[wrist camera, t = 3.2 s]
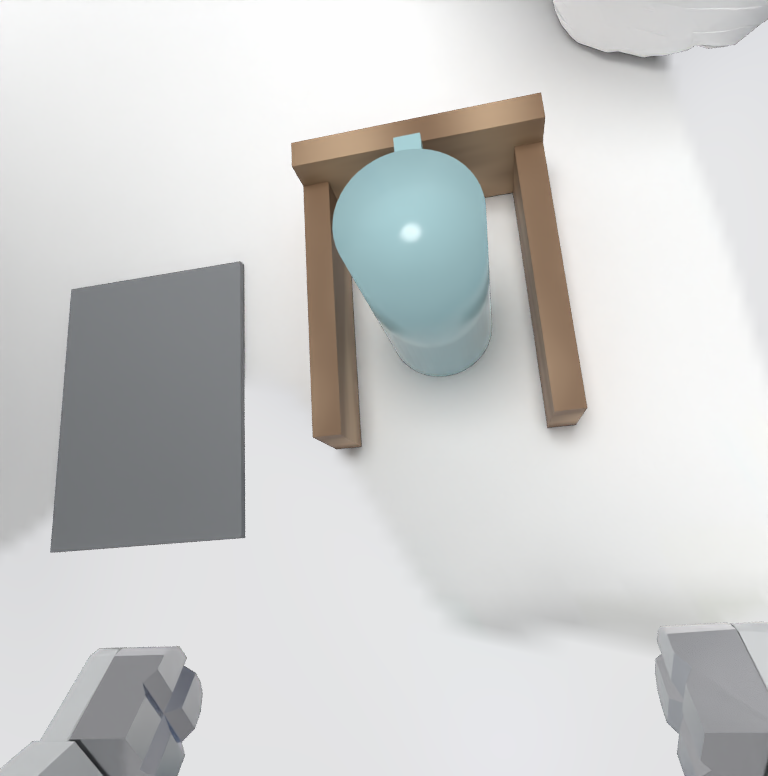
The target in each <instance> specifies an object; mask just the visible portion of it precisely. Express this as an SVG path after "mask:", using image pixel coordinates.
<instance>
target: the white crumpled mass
mask: <svg viewBox="0 0 768 776" xmlns="http://www.w3.org/2000/svg"><path fill="white" fill-rule="evenodd" d="M553 5H554V8H555V11H556V14H557V16H558V18H559V20H560V23H561V25H562V26H563V27H564V28H565V30H566V31H567V32H568V33H569V35H570V36H571V37H572V38H573V39H574V40H575V41H576V42H578V43H580V44H583V45H586V46H589V47H592V48H595V49H598V50H601V51H604V52H616V51H620V52H624V53H627V54H631V55H635V56H639V57H643V58H644V57H649V56H665V55H669V54H674V53H678V52H682V51H686V50H689V49H691V48H692V47H694V46H701V47H704V48H708V49H709V48H717V47H724V46H729V45H735V44H736V43H738V42H739V41H740V40H741V39H743V38H744V37H745V36H746V35H748V34H749V33H750V32H751V31H753V30H754V29H755V28H756V27H758V26H759V25H760V24H761V23H763V22H765V21H766V20H767V19H768V0H553Z"/></svg>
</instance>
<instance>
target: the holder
mask: <svg viewBox="0 0 768 776" xmlns="http://www.w3.org/2000/svg"><path fill="white" fill-rule="evenodd" d="M544 124H545V113H544V107H543V101H542V96H541V93H536V94H531V95H526V96H521V97H517V98H512V99H507V100H502V101H497V102H492V103H487V104H482V105H477V106H472V107H467V108H462V109H457V110H452V111H447V112H443V113H438V114H433V115H428V116H423V117H418V118H413V119H408V120H403V121H398V122H393V123H388V124H383V125H378V126H373V127H369V128H364V129H359V130H354V131H349V132H344V133H339V134H334V135H329V136H324V137H319V138H314V139H309V140H304V141H299V142H295V143H291V147H292V167H293V169H294V171H295V172H296V174H297V176H298V178H299V179H300V181H301V183H302V185H303V186H304V213H305V240H306V267H307V294H308V320H309V347H310V374H311V401H312V428H313V438H315V439H317V440H319V441H321V442H323V443H325V444H327V445H329V446H331V447H333V448H335V449H343V448H353V447H361V430H360V413H359V397H358V380H357V363H356V346H355V330H354V313H353V296H352V279H351V274H350V272H349V270H348V269H347V267H346V265H345V263H344V262H343V260H342V258H341V257H340V255H339V253H338V250H337V248H336V245H335V242H334V238H333V230H332V227H333V215H334V210H335V207H336V204H337V201H338V199H339V197H340V194H341V193H342V191H343V189H344V188H345V186H346V185H347V184H348V182H349V181H350V180H351V179H352V178H353V176H354V175H355V174H356V173H357V172H359V171H360V170H361V169H362V168H363V167H365V166H366V165H368V164H369V163H371V162H372V161H374V160H376V159H378V158H380V157H382V156H384V155H387V154H390V153H393V152H394V142H393V138H395V137H400V136H405V135H410V134H415V133H420V135H421V140H422V145H423V149H428V150H434V151H438V152H441V153H444V154H447V155H449V156H451V157H453V158H455V159H457V160H458V161H460V162H461V163H463V164H464V165H465V166H466V167H467V168H468V169H469V170H470V171H471V172H472V173H473V175H474V176H475V177H476V179H477V180H478V182H479V184H480V186H481V188H482V191H483V194H484V197H490V196H496V195H501V194H507V193H513V196H514V203H515V210H516V217H517V224H518V231H519V237H520V244H521V251H522V258H523V265H524V271H525V278H526V285H527V292H528V299H529V305H530V312H531V319H532V326H533V333H534V339H535V346H536V353H537V360H538V367H539V374H540V380H541V387H542V394H543V401H544V408H545V414H546V421H547V428H549V427H558V426H568V425H576V424H577V422H578V421H579V419H580V418H581V416H582V415H583V413H584V412H585V410H586V409H587V404H586V398H585V392H584V386H583V380H582V374H581V368H580V362H579V356H578V350H577V344H576V338H575V332H574V326H573V320H572V314H571V308H570V302H569V296H568V290H567V284H566V278H565V272H564V266H563V260H562V254H561V248H560V242H559V236H558V230H557V224H556V218H555V212H554V206H553V200H552V194H551V188H550V182H549V176H548V170H547V164H546V158H545V152H544V146H543V133H544Z"/></svg>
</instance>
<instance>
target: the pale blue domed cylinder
mask: <svg viewBox="0 0 768 776" xmlns="http://www.w3.org/2000/svg"><path fill="white" fill-rule="evenodd" d="M393 142H394V152H393V153H390V154H387V155H384V156H382V157H380V158H378V159H376V160H374V161H372V162H371V163H369V164H368V165H366V166H365V167H363V168H362V169H361V170H360V171H359V172H357V173H356V174H355V175H354V176H353V178H352V179H351V180H350V181H349V182H348V184H347V185H346V186H345V188H344V189H343V191H342V193H341V194H340V197H339V199H338V201H337V204H336V207H335V210H334V215H333V227H332V230H333V238H334V242H335V245H336V248H337V250H338V253H339V255H340V257H341V258H342V260H343V262H344V263H345V265H346V267H347V269H348V270H349V272H350V274H351V275H352V277H353V279H354V281H355V282H356V284H357V286H358V287H359V289H360V291H361V292H362V294H363V296H364V298H365V299H366V301H367V303H368V304H369V306H370V308H371V310H372V311H373V313H374V315H375V316H376V318H377V320H378V321H379V323H380V325H381V327H382V328H383V330H384V332H385V333H386V335H387V337H388V338H389V340H390V342H391V344H392V345H393V347H394V349H395V350H396V352H397V354H398V355H399V357H400V358H401V359H402V360H403V362H404V363H405V364H407V365H408V366H409V367H410V368H412V369H413V370H415V371H417V372H419V373H422V374H425V375H430V376H448V375H453V374H456V373H459V372H461V371H464V370H466V369H467V368H469V367H470V366H472V365H473V364H474V363H475V362H476V361H477V360H478V359H479V358H480V357H481V356H482V354H483V353H484V352H485V350H486V348H487V346H488V344H489V341H490V338H491V333H492V318H491V298H490V279H489V259H488V240H487V221H486V203H485V198H484V194H483V191H482V188H481V186H480V184H479V182H478V180H477V179H476V177H475V176H474V175H473V173H472V172H471V171H470V170H469V169H468V168H467V167H466V166H465V165H464V164H463V163H461V162H460V161H458V160H457V159H455V158H453V157H451V156H449V155H447V154H444V153H441V152H438V151H434V150H428V149H423V145H422V140H421V135H420V133H415V134H410V135H405V136H400V137H395V138H393Z"/></svg>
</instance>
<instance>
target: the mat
mask: <svg viewBox="0 0 768 776" xmlns="http://www.w3.org/2000/svg"><path fill="white" fill-rule="evenodd" d="M244 435H245V431H244V265H243V264H242V263H241V262H234V263H228V264H222V265H216V266H210V267H204V268H198V269H192V270H186V271H180V272H174V273H168V274H162V275H156V276H150V277H144V278H138V279H132V280H126V281H120V282H114V283H108V284H102V285H96V286H90V287H84V288H78V289H72V290H71V302H70V314H69V327H68V339H67V352H66V364H65V377H64V389H63V401H62V414H61V426H60V439H59V451H58V464H57V476H56V489H55V501H54V514H53V526H52V539H51V551H50V552H65V551H78V550H92V549H105V548H118V547H131V546H144V545H157V544H169V543H184V542H197V541H210V540H223V539H236V538H245V448H244V447H245V444H244V443H245V442H244V441H245V436H244Z"/></svg>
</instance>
